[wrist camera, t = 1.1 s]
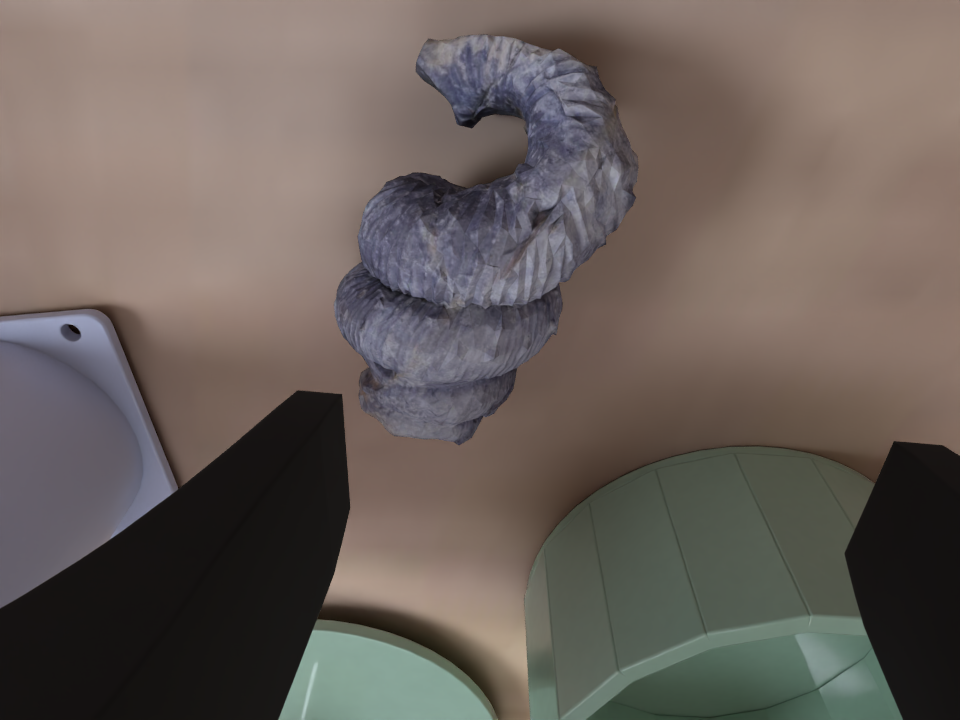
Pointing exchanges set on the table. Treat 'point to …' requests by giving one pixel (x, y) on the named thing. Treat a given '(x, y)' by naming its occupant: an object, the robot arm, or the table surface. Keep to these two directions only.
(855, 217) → the table surface
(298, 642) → the robot arm
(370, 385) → the seashell
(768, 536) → the crock
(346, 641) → the lid
